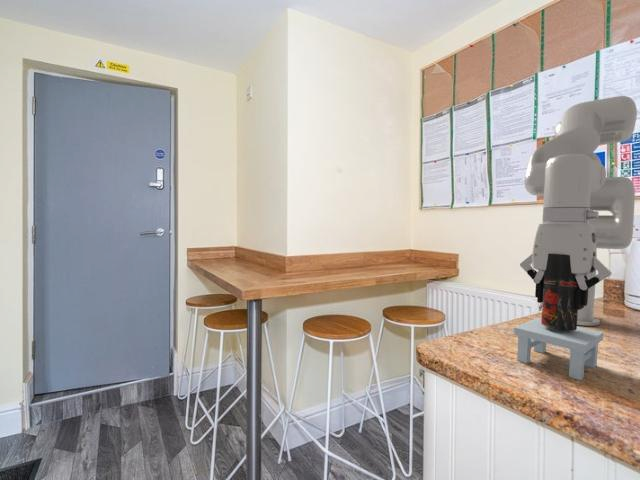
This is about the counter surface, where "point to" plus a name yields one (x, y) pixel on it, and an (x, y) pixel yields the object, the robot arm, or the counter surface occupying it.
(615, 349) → the counter surface
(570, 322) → the deodorant
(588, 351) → the pale blue square tabletop
